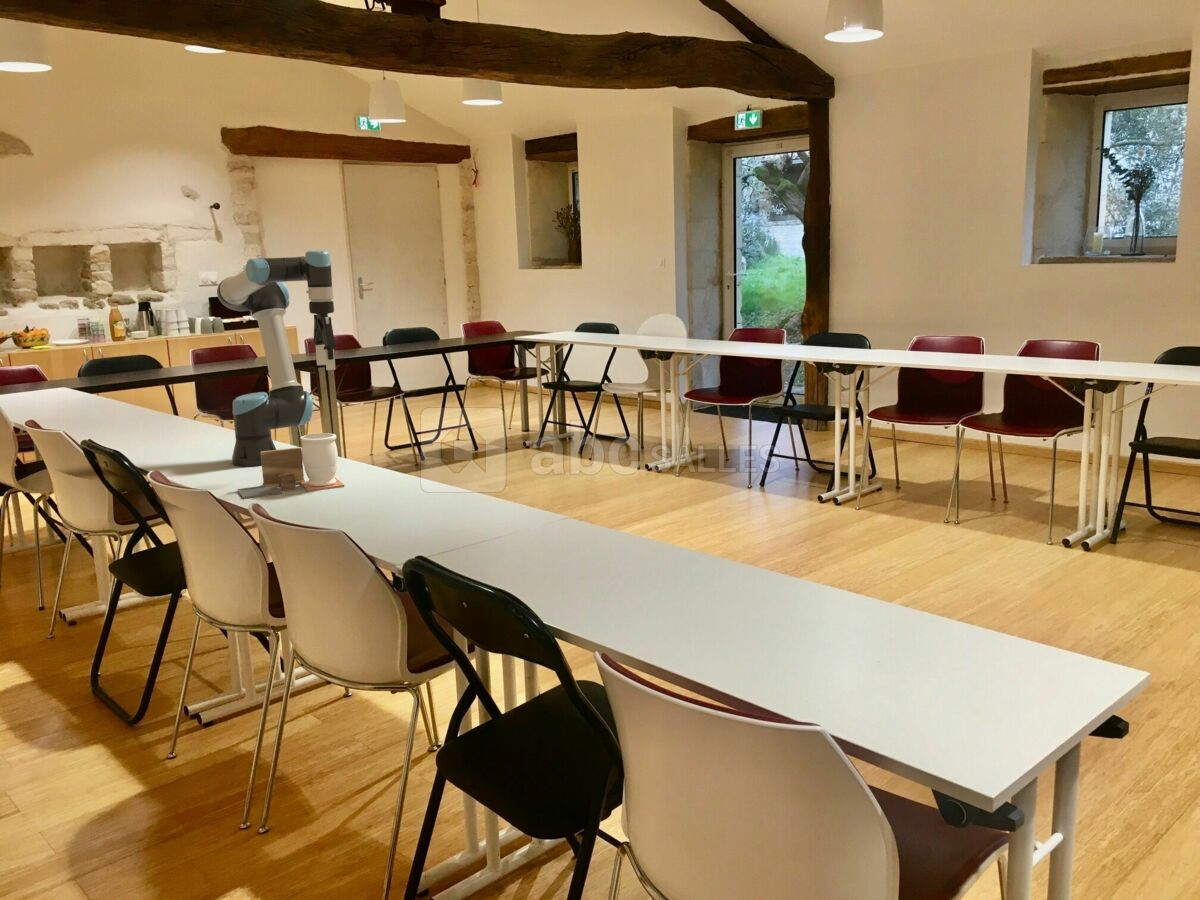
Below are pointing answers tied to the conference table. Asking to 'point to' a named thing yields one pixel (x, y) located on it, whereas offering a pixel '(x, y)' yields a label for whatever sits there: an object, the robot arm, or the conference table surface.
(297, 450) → the oak screen
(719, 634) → the conference table surface
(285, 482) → the letter cube
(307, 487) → the pad terracotta
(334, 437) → the jar
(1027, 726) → the conference table surface
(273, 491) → the pad slate
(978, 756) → the conference table surface
